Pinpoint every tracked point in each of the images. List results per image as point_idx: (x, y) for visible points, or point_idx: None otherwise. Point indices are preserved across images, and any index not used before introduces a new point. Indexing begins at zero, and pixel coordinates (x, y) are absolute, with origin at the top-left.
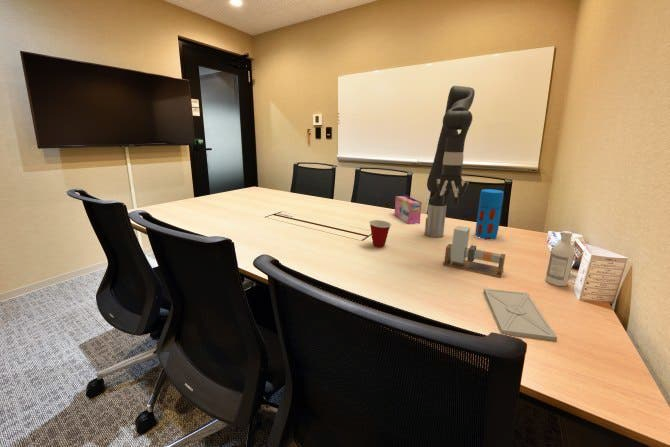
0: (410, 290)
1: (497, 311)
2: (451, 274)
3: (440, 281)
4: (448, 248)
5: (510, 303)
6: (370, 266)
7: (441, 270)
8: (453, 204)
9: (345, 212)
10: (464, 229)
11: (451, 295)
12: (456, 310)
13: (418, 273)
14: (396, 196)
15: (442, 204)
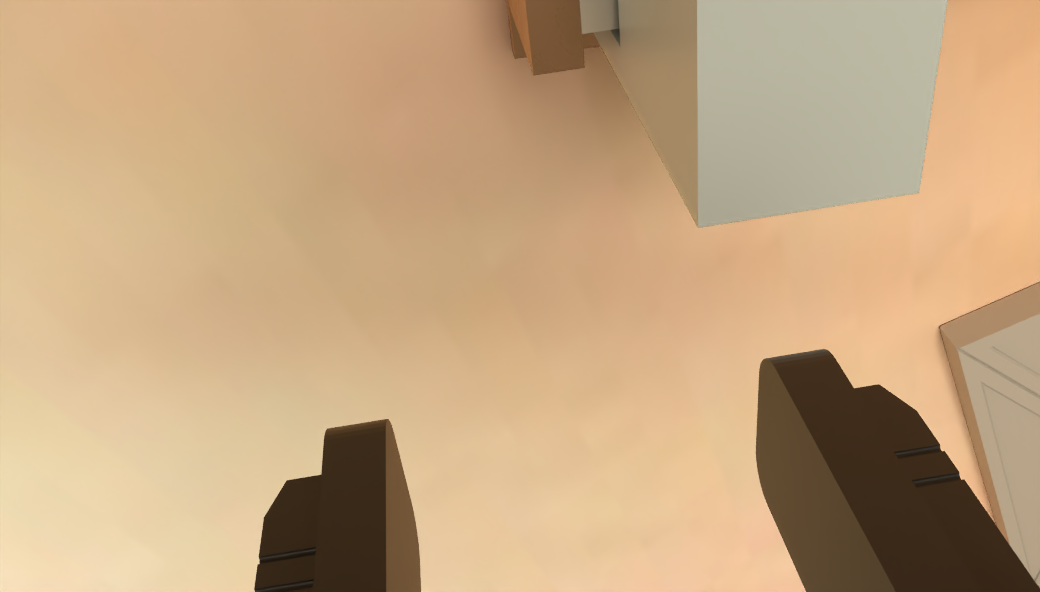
0: (506, 578)
1: (1023, 512)
2: (660, 203)
3: (623, 370)
4: (567, 65)
5: None
6: (24, 508)
7: (552, 185)
8: (777, 513)
9: None
10: (868, 105)
11: (748, 480)
12: None
13: (415, 366)
14: None
15: (412, 523)
